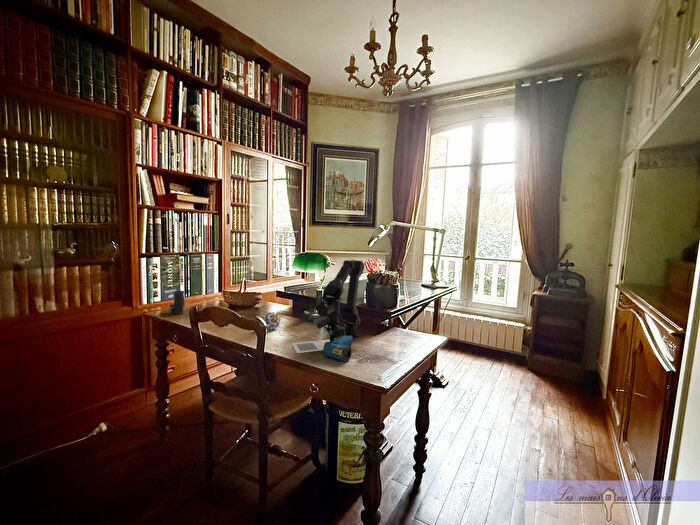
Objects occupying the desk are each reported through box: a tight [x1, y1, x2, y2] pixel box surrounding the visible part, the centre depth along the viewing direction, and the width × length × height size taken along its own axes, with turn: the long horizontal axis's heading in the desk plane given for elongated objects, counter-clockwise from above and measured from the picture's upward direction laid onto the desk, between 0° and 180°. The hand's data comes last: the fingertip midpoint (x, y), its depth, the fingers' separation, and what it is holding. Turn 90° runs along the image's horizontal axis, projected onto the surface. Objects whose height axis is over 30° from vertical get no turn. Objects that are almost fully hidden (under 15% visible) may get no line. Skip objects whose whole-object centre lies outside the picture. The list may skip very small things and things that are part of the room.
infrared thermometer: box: [322, 335, 354, 363], centre depth 143 cm, size 6×13×20 cm
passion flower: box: [260, 310, 282, 332], centre depth 172 cm, size 11×11×12 cm
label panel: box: [291, 338, 330, 354], centre depth 150 cm, size 24×12×1 cm, turn 113°
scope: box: [167, 290, 186, 316], centre depth 192 cm, size 8×14×10 cm
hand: (331, 343), depth 149 cm, fingers closed
